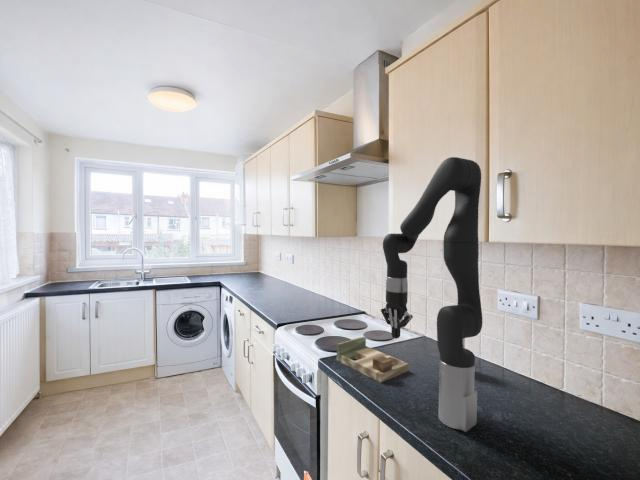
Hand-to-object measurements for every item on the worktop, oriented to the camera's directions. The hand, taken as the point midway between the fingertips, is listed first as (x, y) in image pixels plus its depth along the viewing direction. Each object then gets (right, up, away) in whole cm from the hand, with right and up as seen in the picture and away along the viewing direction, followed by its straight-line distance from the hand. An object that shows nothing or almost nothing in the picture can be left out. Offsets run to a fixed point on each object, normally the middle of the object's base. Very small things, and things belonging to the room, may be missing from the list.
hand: (395, 337), depth 112 cm
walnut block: (-4, -13, +5) cm, 15 cm away
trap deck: (-6, -16, +14) cm, 22 cm away
